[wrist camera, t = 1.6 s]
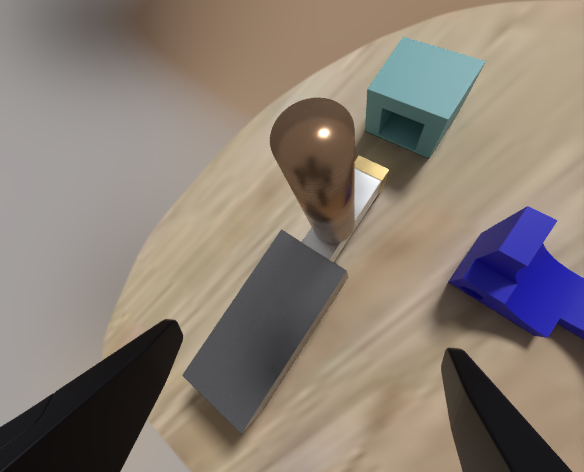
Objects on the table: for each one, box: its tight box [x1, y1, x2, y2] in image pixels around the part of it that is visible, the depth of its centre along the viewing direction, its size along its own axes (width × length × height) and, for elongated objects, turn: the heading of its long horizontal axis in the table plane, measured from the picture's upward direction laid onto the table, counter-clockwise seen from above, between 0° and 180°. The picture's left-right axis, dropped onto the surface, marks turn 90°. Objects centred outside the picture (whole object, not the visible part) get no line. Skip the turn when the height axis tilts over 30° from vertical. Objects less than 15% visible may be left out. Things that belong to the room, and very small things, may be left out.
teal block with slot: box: [365, 37, 486, 158], centre depth 21 cm, size 5×6×5 cm
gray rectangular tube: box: [182, 229, 348, 434], centre depth 20 cm, size 12×5×4 cm, turn 145°
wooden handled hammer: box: [270, 98, 389, 262], centre depth 15 cm, size 18×3×13 cm, turn 145°
